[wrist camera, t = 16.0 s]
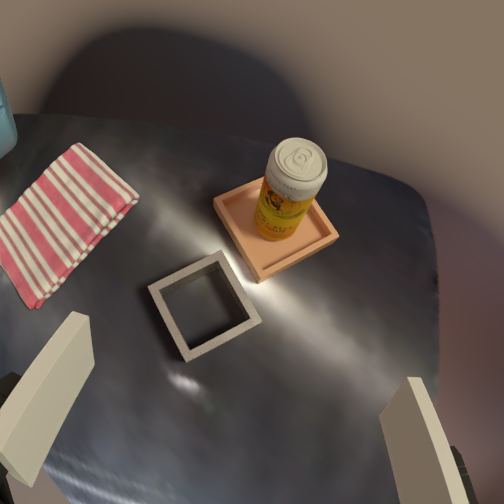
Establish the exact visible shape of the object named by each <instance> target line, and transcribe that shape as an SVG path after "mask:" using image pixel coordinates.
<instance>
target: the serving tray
mask: <svg viewBox="0 0 504 504" xmlns="http://www.w3.org/2000/svg"><path fill="white" fill-rule="evenodd" d="M263 179H264V177H262V178H260V179H257V180H255V181H252V182H250V183H248V184H245V185H243V186H241V187H238V188H236V189H234V190H231V191H229V192H227V193H224V194H222V195H220V196H218V197H215V198H214V201H213V207H214V209H215V211H216V212H217V214H218V216H219V218H220V219H221V221H222V223H223V224H224V226H225V228H226V230H227V231H228V233H229V235H230V237H231V238H232V240H233V242H234V243H235V245H236V247H237V249H238V250H239V252H240V254H241V255H242V257H243V259H244V261H245V262H246V264H247V266H248V267H249V269H250V271H251V273H252V274H253V276H254V278H255V279H256V281H257V283H258V284H259V283H261V282H263V281H265V280H267V279H269V278H270V277H272V276H274V275H276V274H278V273H280V272H281V271H283V270H285V269H287V268H289V267H291V266H292V265H294V264H296V263H298V262H300V261H302V260H303V259H305V258H307V257H309V256H311V255H312V254H314V253H316V252H318V251H320V250H321V249H323V248H325V247H327V246H329V245H330V244H332V243H334V242H335V240H336V239H337V238H338V237H339V235H338V233H337V232H336V230H335V229H334V227H333V226H332V224H331V223H330V221H329V220H328V218H327V217H326V215H325V214H324V212H323V211H322V209H321V208H320V206H319V205H318V204H317V202H316V201H315V199H314V200H313V201H312V203H311V205H310V207H309V208H308V210H307V212H306V214H305V215H304V217H303V219H302V221H301V222H300V224H299V226H298V227H297V229H296V231H295V232H294V234H293V235H292V236H291V237H289V238H287V239H285V240H281V241H275V240H270V239H267V238H265V237H264V236H262V235H261V234H260V233H259V232H258V230H257V229H256V227H255V224H254V213H255V209H256V206H257V202H258V198H259V194H260V190H261V187H262V183H263Z"/></svg>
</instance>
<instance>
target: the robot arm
mask: <svg viewBox="0 0 504 504" xmlns="http://www.w3.org/2000/svg"><path fill="white" fill-rule="evenodd" d="M16 142H17V130H16V126H15V122H14V119H13V115H12V112H11V109H10V106H9V102H8V99H7V96H6V93H5V90H4V87H3V84H2V82H1V79H0V159H1V158H2V157H3V156H4V155H5V154H7V153H8V152H9V151H10V150H12V149H13V148H14V146H15V144H16ZM94 365H95V363H94V356H93V349H92V341H91V333H90V324H89V316H86V315H83V314H80V313H77V312H74V311H72V312H71V313H70V315H69V316H68V317H67V318H66V320H65V321H64V322H63V323H62V325H61V326H60V327H59V328H58V330H57V331H56V332H55V334H54V335H53V336H52V337H51V339H50V340H49V341H48V343H47V344H46V345H45V347H44V348H43V349H42V351H41V352H40V353H39V355H38V356H37V357H36V359H35V360H34V361H33V363H32V364H31V365H30V367H29V368H28V370H27V371H26V372H25V374H24V375H23V377H22V376H20V375H18V374H16V373H14V372H11V373H10V374H8V375H7V376H5V377H3V378H2V379H1V380H0V504H14V502H13V498H12V495H11V492H10V488H9V485H8V482H7V479H6V474H7V473H8V472H9V473H10V474H11V475H12V476H13V477H14V478H15V479H17V480H19V481H20V482H22V483H24V484H26V485H27V486H29V487H31V488H32V486H33V484H34V482H35V480H36V477H37V475H38V473H39V471H40V469H41V467H42V464H43V462H44V460H45V458H46V456H47V454H48V452H49V450H50V448H51V446H52V444H53V442H54V440H55V438H56V436H57V434H58V432H59V430H60V428H61V426H62V424H63V422H64V420H65V418H66V416H67V414H68V412H69V410H70V409H71V407H72V405H73V403H74V401H75V399H76V397H77V396H78V394H79V392H80V390H81V388H82V386H83V385H84V383H85V381H86V379H87V377H88V376H89V374H90V372H91V370H92V369H93V367H94ZM379 419H380V423H381V426H382V430H383V434H384V437H385V441H386V445H387V449H388V453H389V457H390V461H391V465H392V469H393V473H394V477H395V482H396V486H397V491H398V495H399V500H400V504H478V502H477V499H476V496H475V493H474V490H473V487H472V484H471V481H470V478H469V475H467V470H466V467H464V465H465V464H464V462H463V459H462V456H461V454H460V453H459V452H458V450H457V449H456V448H455V447H454V446H449V444H448V441H447V439H446V436H445V434H444V431H443V429H442V426H441V424H440V421H439V419H438V416H437V414H436V412H435V409H434V407H433V404H432V402H431V400H430V397H429V395H428V393H427V391H426V388H425V386H424V384H423V382H422V379H421V378H417V377H407V378H406V379H405V381H404V382H403V384H402V385H401V387H400V388H399V389H398V391H397V392H396V394H395V395H394V396H393V398H392V399H391V400H390V402H389V403H388V404H387V406H386V407H385V408H384V410H383V411H382V412H381V414H380V415H379Z"/></svg>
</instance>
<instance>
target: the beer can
mask: <svg viewBox="0 0 504 504" xmlns="http://www.w3.org/2000/svg"><path fill="white" fill-rule="evenodd" d="M326 176H327V161H326V157H325V155H324V153H323V151H322V150H321V149H320V148H319V147H318V146H317V145H316V144H314V143H313V142H311V141H308V140H306V139H302V138H290V139H286V140H284V141H282V142H281V143H280V144H279V145H278V146H277V147H275V148H274V149H273V151H272V152H271V154H270V157H269V161H268V164H267V168H266V172H265V175H264V179H263V183H262V187H261V190H260V194H259V198H258V202H257V206H256V209H255V213H254V224H255V227H256V229H257V230H258V232H259V233H260V234H261V235H262V236H264V237H265V238H267V239H270V240H275V241H281V240H285V239H287V238H289V237H291V236H292V235H293V234H294V232H295V231H296V229H297V227H298V226H299V224H300V222H301V221H302V219H303V217H304V215H305V214H306V212H307V210H308V208H309V207H310V205H311V203H312V201H313V200H314V198H315V196H316V194H317V193H318V191H319V189H320V187H321V186H322V184H323V182H324V180H325V178H326Z"/></svg>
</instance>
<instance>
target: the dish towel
mask: <svg viewBox="0 0 504 504" xmlns="http://www.w3.org/2000/svg"><path fill="white" fill-rule="evenodd" d="M138 200H139V195H138V194H137V193H136V192H135V191H134V190H133V189H132V188H131V187H130V186H129V185H128V184H127V183H126V182H124V181H123V180H122V179H121V178H120V177H119V176H117V175H116V174H115V173H114V172H113V171H112V170H111V169H110V168H109V167H108V166H107V165H106V164H105V163H104V162H103V161H102V160H100V159H99V158H98V157H97V156H96V155H95V154H94V153H93V152H91V151H90V150H89V149H87V148H86V147H84V146H83V145H82V144H81V143H77V144H74V145H73V146H71V147H70V149H68V150H67V151H66V152H65V153H64V154H62V155H61V156H60V157H58V158H57V160H55V161H54V162H52V164H51V165H50V166H49V167H48V168H47V169H46V170H45V171H44V173H43V174H42V175H41V176H40V177H39V178H38V179H37V180H36V181H35V182H34V183H33V184H32V185H31V187H29V188H28V189H27V190H26V191H25V192H24V194H23V195H22V196H20V197H19V199H18V201H17V202H16V203H15V204H14V205H13V206H12V207H11V208H9V209H8V210H7V211H6V212H5V213H4V214H3V215H1V216H0V265H1V266H2V268H3V269H4V271H5V272H6V274H7V275H8V277H9V278H10V279H11V281H12V282H13V284H14V285H15V287H16V289H17V291H18V293H19V294H20V296H21V298H22V299H23V301H24V302H25V304H26V305H27V306H28V307H29V309H31V310H33V309H34V307H36V308H37V309H40V307H41V306H42V304H43V303H44V301H45V300H46V299H47V298H49V297H50V296H51V295H52V293H53V292H55V291H56V290H57V289H58V288H59V287H60V285H61V284H62V283H63V282H64V281H65V280H66V278H67V277H68V275H69V274H70V273H71V272H72V270H73V269H74V268H75V267H77V266H78V265H79V263H80V262H81V261H82V260H83V259H84V258H85V257H86V256H87V255H88V254H89V252H90V251H92V249H93V248H94V247H95V245H96V244H97V243H98V242H99V241H100V240H101V239H102V238H103V237H104V236H105V235H107V234H108V233H109V231H110V230H111V229H113V228H114V227H115V226H116V225H117V224H118V222H119V221H120V220H121V219H122V218H123V217H124V216H125V214H126V213H127V212H128V211H129V209H130V208H131V207H132V206H133V205H135V204H136V203H137V202H138Z"/></svg>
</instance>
